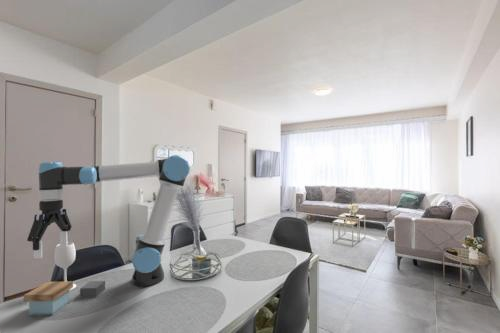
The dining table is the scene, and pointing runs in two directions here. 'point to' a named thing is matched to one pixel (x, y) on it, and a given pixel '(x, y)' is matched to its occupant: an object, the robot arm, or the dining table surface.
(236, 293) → the dining table surface
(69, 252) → the wineglass
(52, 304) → the dish
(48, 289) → the lid
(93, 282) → the gray square block
